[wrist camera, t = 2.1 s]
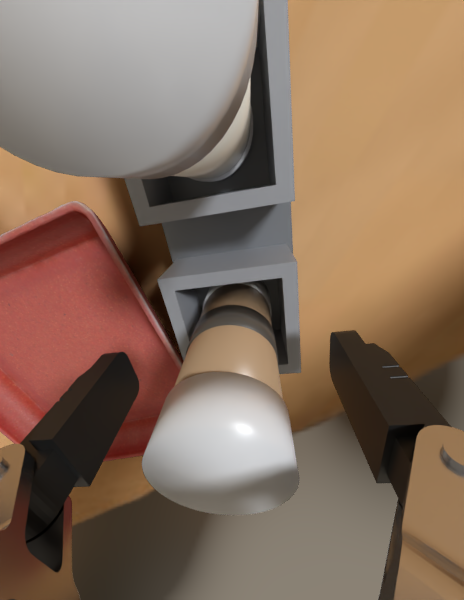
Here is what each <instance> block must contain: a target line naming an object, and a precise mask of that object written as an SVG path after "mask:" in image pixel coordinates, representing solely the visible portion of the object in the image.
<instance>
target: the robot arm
mask: <svg viewBox="0 0 464 600" xmlns="http://www.w3.org/2000/svg"><path fill="white" fill-rule="evenodd" d="M330 373H331V378H332V381H333V384H334V386H335V388H336V390H337V393H338V395H339V397H340V400H341V402H342V404H343V407H344V409H345V411H346V413H347V416H348V418H349V420H350V423H351V425H352V427H353V429H354V432H355V434H356V436H357V439H358V441H359V443H360V446H361V448H362V450H363V453H364V455H365V457H366V459H367V462H368V464H369V466H370V469H371V471H372V473H373V475H374V478H375V480H376V483H391V484H392V486H393V488H394V490H395V492H396V494H397V496H398V501H397V506H396V511H395V516H394V522H393V527H392V532H391V538H390V543H389V548H388V553H387V559H386V564H385V569H384V575H383V580H382V585H381V590H380V594H379V598H378V600H464V431H461V430H459V429H456V428H453V427H451V426H450V425H449V424H448V422H447V421H446V420H445V419H444V418H443V417H442V415H441V414H440V413H439V412H438V411H437V410H436V408H435V407H434V406H433V405H432V404H431V402H430V401H429V400H428V399H427V398H426V396H425V395H424V394H423V393H422V392H421V391H420V389H419V388H418V387H417V386H416V385H415V383H414V382H413V381H412V380H411V379H410V378H408V375H407V374H406V373H405V372H404V370H403V369H402V368H401V367H399V364H398V363H397V362H396V361H395V360H394V358H393V357H392V356H391V355H390V354H389V353H388V352H387V351H385V350H384V349H382V348H380V347H379V346H377V345H376V344H374V343H371V344H365V343H364V341H363V340H362V339H361V337H360V336H359V335H358V333H357V332H356V331H354V330H352V331H341V332H332V333H331V336H330ZM138 392H139V380H138V377H137V375H136V373H135V371H134V369H133V366H132V364H131V362H130V360H129V358H128V356H127V354H126V353H125V352H115V353H105V354H103V355H101V356H100V358H99V359H98V360H97V361H96V362H95V363H94V365H93V366H92V367H91V368H90V369H89V370H87V371H86V372H85V373H83V374H82V375H81V376H79V377H78V378H77V379H76V380H75V382H74V383H73V384H72V385H71V386H70V387H69V388H68V391H66V392H65V393H64V394H63V395H62V396H61V397H60V400H59V401H57V402H56V403H55V404H54V405H53V407H52V408H51V409H50V410H49V411H48V412H47V413H46V414H45V416H44V417H43V418H42V419H41V420H40V421H39V422H38V424H37V425H36V426H35V427H34V428H33V429H32V430H31V432H30V433H29V434H28V435H27V436H26V437H25V438H24V439H23V441H22V442H21V443H20V444H11V445H8V446H5V447H3V448H0V600H80V596H79V593H78V590H77V588H76V586H75V583H74V580H73V575H72V501H71V498H70V497H69V494H70V492H71V490H72V489H73V487H87V486H90V485H91V483H92V481H93V479H94V477H95V476H96V474H97V472H98V470H99V468H100V466H101V464H102V462H103V460H104V458H105V456H106V454H107V453H108V451H109V449H110V447H111V445H112V443H113V441H114V439H115V437H116V435H117V433H118V432H119V430H120V428H121V426H122V424H123V422H124V420H125V418H126V416H127V414H128V412H129V411H130V409H131V407H132V405H133V403H134V401H135V399H136V397H137V395H138Z"/></svg>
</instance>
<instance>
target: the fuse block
mask: <svg viewBox="0 0 464 600" xmlns="http://www.w3.org/2000/svg"><path fill="white" fill-rule="evenodd" d="M250 102H251V107H252V113H253V140H252V145H251V149H250V152H249V155H248V157H247V159H246V161H245V163H244V164H243V165H242V167H241V168H240V169H239V170H238V171H237V172H236V173H235V174H234V175H232V176H231V177H229V178H227V179H225V180H222V181H218V182H202V181H197V180H194V179H191V178H189V177H180V176H168V177H164V178H157V179H131V178H124V179H125V182H126V186H127V189H128V192H129V195H130V198H131V201H132V204H133V207H134V210H135V213H136V216H137V219H138V222H139V225H140V226H146V225H152V224H158V223H162V226H163V230H164V233H165V237H166V240H167V244H168V247H169V251H170V254H171V258H172V261H173V264H172V265H171V266H170V267H169V268H168V269H167V270H166V271H165V272H164V273H163V274H162V275H161V276H160V277H159V278H158V279H157V281H158V284H159V287H160V290H161V293H162V296H163V299H164V302H165V305H166V308H167V311H168V314H169V317H170V321H171V324H172V327H173V330H174V333H175V336H176V339H177V342H178V345H179V348H180V351H181V354H182V357H183V360H184V359H185V357H186V351H187V347H188V345H189V342H190V340H191V337H192V334H193V332H194V329H195V327H196V325H197V323H198V321H199V319H200V317H201V314H202V311H203V304H204V301H205V298H206V296H207V293H208V290H209V288H210V286H218V285H226V284H234V283H243V282H251V281H259V280H261V281H262V282H263V283H264V284H265V286H266V287H267V289H268V292H269V297H270V303H271V309H272V316H271V322H272V328H273V331H274V335H275V341H276V347H277V354H278V369H279V374H288V373H301V357H300V330H299V302H298V275H297V261H296V259H295V257H294V256H293V245H292V222H291V201H295V193H294V166H293V138H292V111H291V84H290V56H289V29H288V1H287V0H259V6H258V26H257V42H256V49H255V56H254V62H253V68H252V72H251V76H250Z"/></svg>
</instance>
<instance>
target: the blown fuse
mask: <svg viewBox="0 0 464 600" xmlns="http://www.w3.org/2000/svg"><path fill="white" fill-rule="evenodd" d="M271 316H272V309H271V303H270V297H269V292H268V289H267V287H266V286H265V284H264V283H263V282H262V281H261V280H259V281H251V282H243V283H234V284H226V285H218V286H210V288H209V290H208V293H207V296H206V298H205V301H204V304H203V311H202V314H201V317H200V319H199V321H198V323H197V325H196V327H195V329H194V332H193V334H192V337H191V340H190V342H189V345H188V347H187V351H186V357H185V359H184V362H183V365H182V367H181V370H180V373H179V375H178V378H177V380H176V383H175V386H174V388H173V389H172V390H171V391H170V392H169V394H168V395H167V397H166V400H165V402H164V405H163V407H162V410H161V412H160V415H159V417H158V420H157V422H156V425H155V427H154V430H153V432H152V435H151V438H150V440H149V443H148V445H147V448H146V450H145V453H144V455H143V459H142V469H143V473H144V475H145V477H146V479H147V480H148V482H149V483H150V484H151V485H152V487H153V488H154V489H155V490H157V491H158V492H159V493H160V494H162V495H163V496H165V497H166V498H168V499H170V500H172V501H173V502H176V503H178V504H180V505H182V506H185V507H188V508H191V509H194V510H198V511H202V512H206V513H212V514H220V515H249V514H256V513H260V512H264V511H268V510H271V509H274V508H276V507H278V506H280V505H282V504H283V503H285V502H286V501H288V500H289V499H290V498H291V497H292V496H293V495H294V493H295V492H296V490H297V488H298V485H299V473H298V467H297V461H296V455H295V448H294V442H293V436H292V430H291V424H290V418H289V412H288V409H287V406H286V404H285V402H284V401H283V396H282V389H281V383H280V376H279V369H278V354H277V347H276V341H275V335H274V331H273V328H272V322H271Z"/></svg>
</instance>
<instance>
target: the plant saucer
mask: <svg viewBox="0 0 464 600" xmlns="http://www.w3.org/2000/svg"><path fill="white" fill-rule="evenodd" d="M115 352H125V353H126V354H127V356H128V358H129V360H130V362H131V364H132V366H133V369H134V371H135V373H136V375H137V377H138V380H139V392H138V395H137V397H136V399H135V401H134V403H133V405H132V407H131V409H130V411H129V412H128V414H127V416H126V418H125V420H124V422H123V424H122V426H121V428H120V430H119V432H118V433H117V435H116V437H115V439H114V441H113V443H112V445H111V447H110V449H109V451H108V453H107V454H106V456H105V458H104V460H103V461H111V460H116V459H123V458H129V457H136V456H143V455H144V453H145V450H146V448H147V445H148V443H149V440H150V438H151V435H152V432H153V430H154V427H155V425H156V422H157V420H158V417H159V415H160V412H161V410H162V407H163V405H164V402H165V400H166V397H167V395H168V394H169V392H170V391H171V390H172V389H173V388H174V386H175V383H176V380H177V378H178V375H179V373H180V370H181V367H182V365H183V360H182V358H181V357H180V355H179V353H178V351H177V350H176V348H175V346H174V344H173V343H172V341H171V339H170V338H169V336H168V334H167V332H166V330H165V329H164V327H163V325H162V324H161V322H160V320H159V318H158V317H157V315H156V313H155V311H154V310H153V308H152V306H151V304H150V303H149V301H148V299H147V297H146V296H145V294H144V292H143V290H142V289H141V287H140V285H139V284H138V282H137V280H136V278H135V276H134V275H133V273H132V271H131V269H130V268H129V266H128V264H127V263H126V261H125V259H124V258H123V256H122V254H121V253H120V251H119V249H118V247H117V246H116V244H115V242H114V241H113V239H112V237H111V236H110V234H109V232H108V230H107V229H106V227H105V226H104V224H103V223H102V222H101V220H100V219H99V218H98V216H97V215H96V214H95V213H94V212H93V211H92V210H91V209H90V208H89V207H87V206H86V205H85V204H83V203H80V202H77V201H72V202H69V203H67V204H64V205H61V206H59V207H58V208H56V209H54V210H52V211H50V212H48V213H46V214H44V215H42V216H39V217H37V218H35V219H33V220H30V221H28V222H27V223H25V224H23V225H21V226H19V227H17V228H14V229H12V230H10V231H8V232H6V233H4V234H2V235H0V432H1V433H2V434H4V435H5V436H6V437H7V438H8V439H9V440H11V441H12V442H13V443H14V444H20V443H21V442H22V441H23V439H24V438H25V437H26V436H27V435H28V434H29V433H30V432H31V430H32V429H33V428H34V427H35V426H36V425H37V424H38V422H39V421H40V420H41V419H42V418H43V417H44V416H45V414H46V413H47V412H48V411H49V410H50V409H51V408H52V407H53V405H54V404H55V403H56V402H57V401H59V400H60V397H61V396H62V395H63V394H64V393H65V392H66V391H68V388H69V387H70V386H71V385H72V384H73V383H74V382H75V380H76V379H77V378H78V377H79V376H81V375H82V374H83V373H85V372H86V371H87V370H89V369H90V368H91V367H92V366H93V365H94V363H95V362H96V361H97V360H98V359H99V358H100V356H101V355H103V354H105V353H115Z"/></svg>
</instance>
